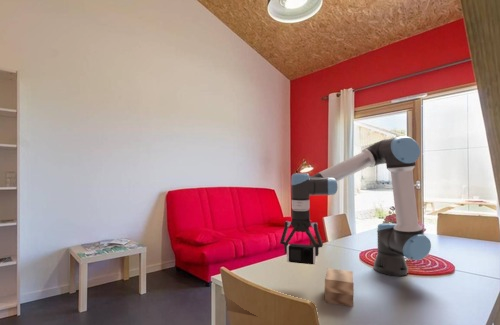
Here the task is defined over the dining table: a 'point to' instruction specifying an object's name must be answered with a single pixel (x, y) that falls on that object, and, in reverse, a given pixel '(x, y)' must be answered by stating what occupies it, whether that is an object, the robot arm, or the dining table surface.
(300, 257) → the digital camera
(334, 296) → the tower base
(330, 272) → the tower top
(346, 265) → the dining table surface
